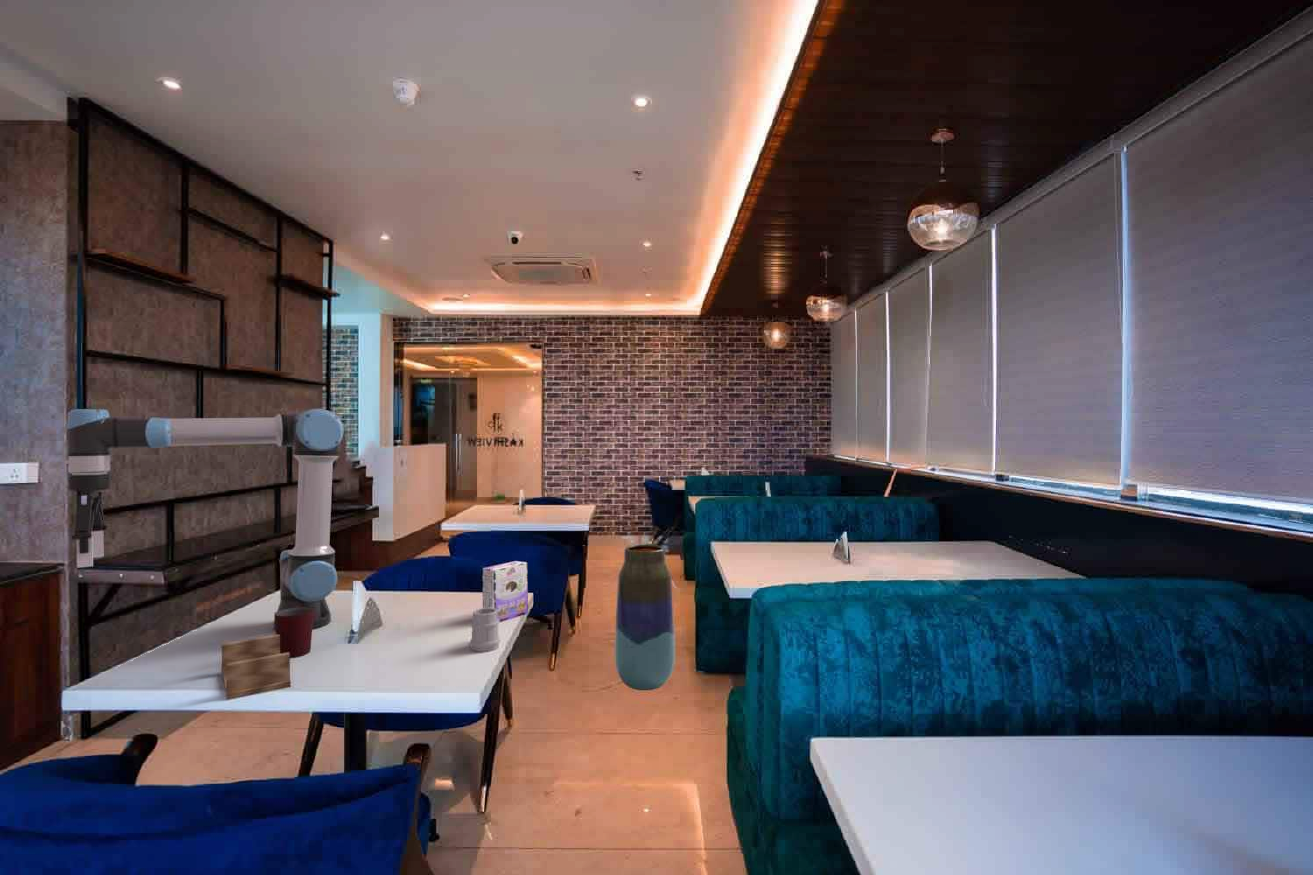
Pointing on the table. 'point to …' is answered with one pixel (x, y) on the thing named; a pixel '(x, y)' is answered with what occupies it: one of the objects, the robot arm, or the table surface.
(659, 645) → the vase
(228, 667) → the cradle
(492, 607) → the mug
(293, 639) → the mug
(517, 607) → the candy box
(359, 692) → the table surface
